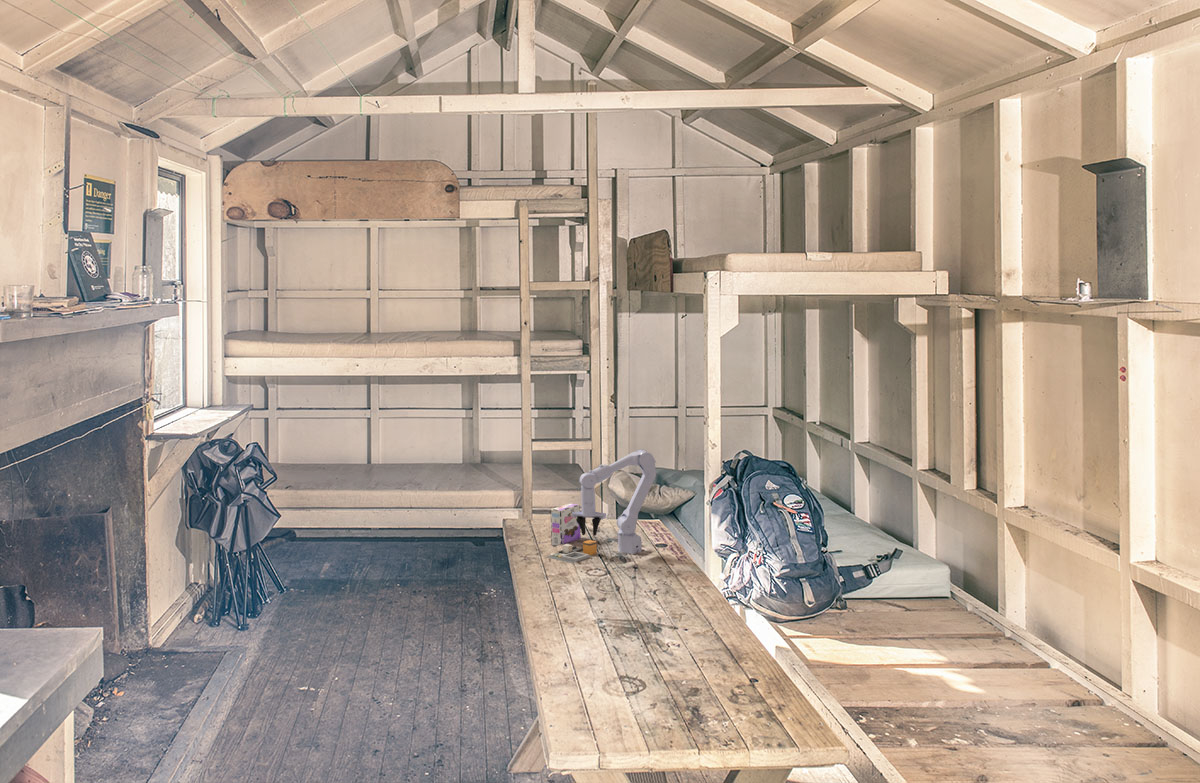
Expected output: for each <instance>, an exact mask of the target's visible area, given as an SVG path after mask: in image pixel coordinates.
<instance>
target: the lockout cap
mask: <svg viewBox="0 0 1200 783" xmlns="http://www.w3.org/2000/svg"><path fill="white" fill-rule="evenodd" d="M597 544H598V542H597V541H595V540H590V539H588V540H585V541H582V548H583V553H584V554H589V555H593V554H596V553H597V552H598V550H597V549H598V548H597Z"/></svg>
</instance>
